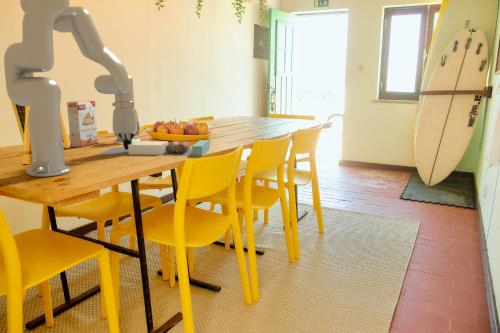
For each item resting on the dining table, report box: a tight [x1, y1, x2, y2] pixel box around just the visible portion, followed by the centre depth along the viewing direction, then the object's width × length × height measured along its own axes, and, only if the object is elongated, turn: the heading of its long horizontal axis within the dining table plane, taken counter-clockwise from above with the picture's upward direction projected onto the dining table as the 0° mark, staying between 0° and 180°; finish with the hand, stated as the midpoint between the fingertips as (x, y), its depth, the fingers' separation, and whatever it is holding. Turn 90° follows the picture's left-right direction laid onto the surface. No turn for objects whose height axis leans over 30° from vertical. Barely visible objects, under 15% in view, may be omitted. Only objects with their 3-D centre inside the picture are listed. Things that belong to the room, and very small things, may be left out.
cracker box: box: [66, 100, 99, 148], centre depth 183 cm, size 14×6×21 cm, turn 168°
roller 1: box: [166, 140, 181, 154], centre depth 165 cm, size 9×4×4 cm, turn 176°
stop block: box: [191, 139, 210, 157], centre depth 164 cm, size 16×4×4 cm, turn 175°
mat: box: [98, 147, 193, 157], centre depth 166 cm, size 16×44×1 cm, turn 85°
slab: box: [128, 140, 169, 156], centre depth 164 cm, size 10×14×4 cm
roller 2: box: [175, 140, 191, 154], centre depth 164 cm, size 9×4×4 cm
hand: (128, 149), depth 165 cm, fingers closed
